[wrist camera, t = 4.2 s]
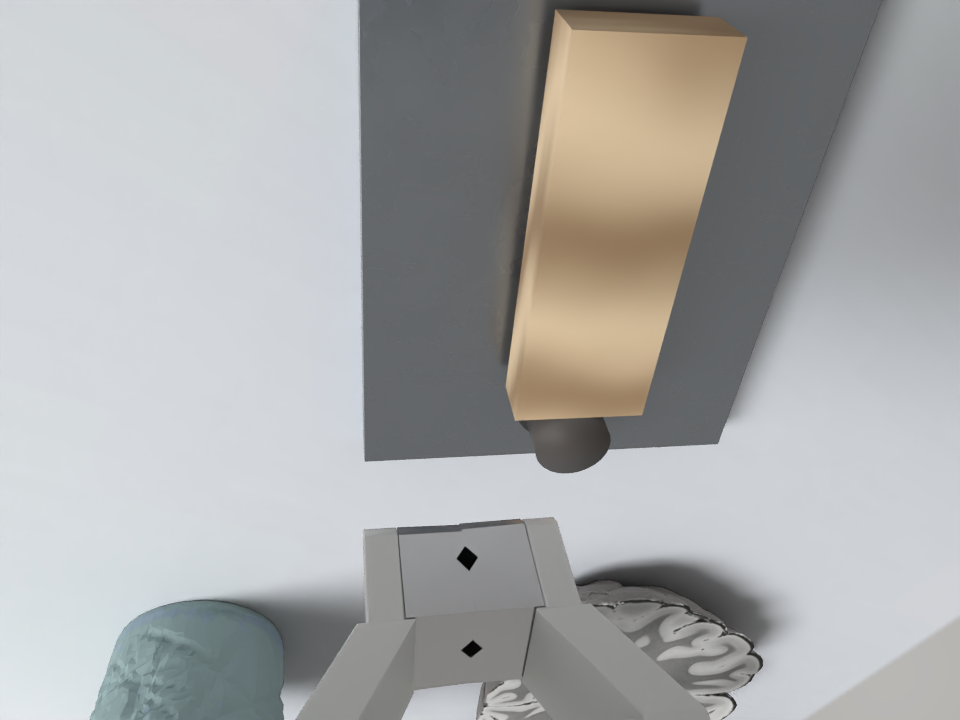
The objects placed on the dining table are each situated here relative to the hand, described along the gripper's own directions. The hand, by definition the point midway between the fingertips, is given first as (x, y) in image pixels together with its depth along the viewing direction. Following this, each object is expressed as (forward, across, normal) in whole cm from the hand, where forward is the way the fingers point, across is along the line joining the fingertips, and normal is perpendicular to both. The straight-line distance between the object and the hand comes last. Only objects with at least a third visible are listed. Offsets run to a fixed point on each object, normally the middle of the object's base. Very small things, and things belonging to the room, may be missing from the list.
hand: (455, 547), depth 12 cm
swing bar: (+15, -7, +4) cm, 17 cm away
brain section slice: (+18, -14, +34) cm, 41 cm away
